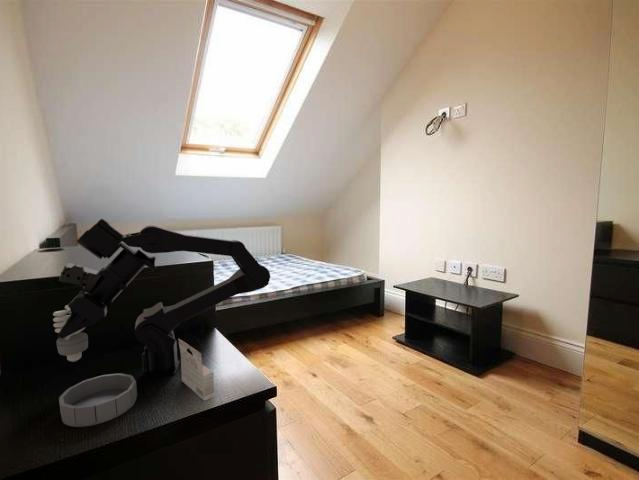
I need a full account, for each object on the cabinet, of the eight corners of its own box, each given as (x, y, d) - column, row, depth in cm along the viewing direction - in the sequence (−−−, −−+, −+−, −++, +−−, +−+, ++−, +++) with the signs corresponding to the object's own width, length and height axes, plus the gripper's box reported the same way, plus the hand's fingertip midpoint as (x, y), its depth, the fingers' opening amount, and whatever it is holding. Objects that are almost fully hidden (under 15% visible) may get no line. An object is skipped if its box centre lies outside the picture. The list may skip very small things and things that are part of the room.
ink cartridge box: (192, 377, 78) (189, 334, 76) (215, 397, 69) (212, 349, 68) (180, 381, 76) (177, 337, 75) (203, 402, 68) (200, 353, 67)
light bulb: (85, 365, 72) (79, 307, 70) (53, 369, 70) (46, 311, 69) (94, 353, 77) (88, 300, 76) (64, 358, 75) (58, 303, 74)
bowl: (144, 386, 74) (142, 370, 73) (124, 421, 62) (122, 402, 62) (80, 393, 72) (78, 377, 71) (47, 431, 60) (45, 412, 59)
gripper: (92, 244, 81) (38, 298, 77) (76, 254, 64) (7, 324, 61) (134, 274, 85) (84, 326, 82) (129, 291, 68) (67, 357, 65)
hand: (63, 332), depth 72 cm, fingers closed on light bulb, 5 cm apart
